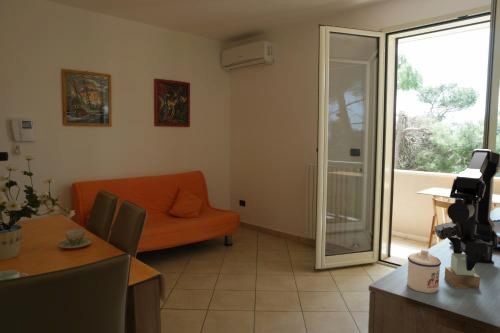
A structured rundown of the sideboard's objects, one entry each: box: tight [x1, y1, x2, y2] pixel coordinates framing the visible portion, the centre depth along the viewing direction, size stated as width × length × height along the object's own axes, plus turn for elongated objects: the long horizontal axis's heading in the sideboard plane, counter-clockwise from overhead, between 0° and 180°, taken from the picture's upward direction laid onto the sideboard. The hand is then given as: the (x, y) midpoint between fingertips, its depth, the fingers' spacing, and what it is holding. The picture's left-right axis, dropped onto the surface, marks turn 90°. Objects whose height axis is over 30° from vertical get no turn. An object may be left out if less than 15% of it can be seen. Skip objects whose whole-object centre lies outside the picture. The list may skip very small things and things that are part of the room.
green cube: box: [450, 252, 476, 276], centre depth 110 cm, size 5×5×5 cm
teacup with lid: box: [406, 249, 442, 294], centre depth 109 cm, size 12×9×12 cm
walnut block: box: [444, 266, 481, 290], centre depth 111 cm, size 7×7×4 cm
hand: (462, 264), depth 111 cm, fingers open, 9 cm apart
